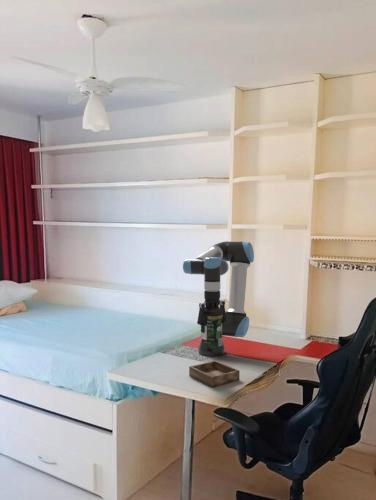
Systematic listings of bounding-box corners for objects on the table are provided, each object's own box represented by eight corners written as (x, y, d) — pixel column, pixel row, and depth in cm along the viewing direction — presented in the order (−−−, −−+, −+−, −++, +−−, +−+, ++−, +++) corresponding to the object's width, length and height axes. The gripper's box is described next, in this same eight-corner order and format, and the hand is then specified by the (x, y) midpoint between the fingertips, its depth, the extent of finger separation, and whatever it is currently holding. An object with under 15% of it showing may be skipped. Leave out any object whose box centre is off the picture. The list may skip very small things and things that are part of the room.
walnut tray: (215, 369, 204) (215, 360, 204) (239, 380, 190) (239, 370, 189) (189, 375, 195) (189, 366, 195) (212, 387, 180) (212, 377, 180)
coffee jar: (198, 345, 192) (198, 306, 191) (209, 342, 198) (209, 304, 197) (214, 349, 185) (215, 309, 184) (225, 345, 191) (225, 307, 190)
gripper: (224, 287, 199) (224, 332, 200) (189, 291, 187) (189, 339, 189) (234, 289, 193) (234, 336, 194) (198, 293, 181) (198, 343, 182)
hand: (212, 337), depth 191 cm, fingers closed on coffee jar, 8 cm apart
